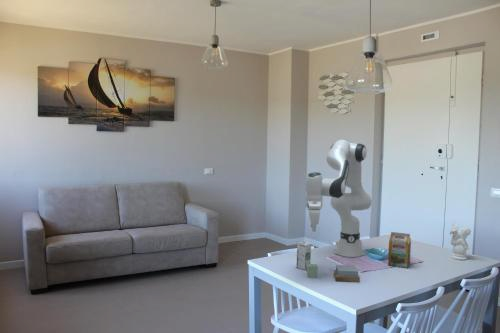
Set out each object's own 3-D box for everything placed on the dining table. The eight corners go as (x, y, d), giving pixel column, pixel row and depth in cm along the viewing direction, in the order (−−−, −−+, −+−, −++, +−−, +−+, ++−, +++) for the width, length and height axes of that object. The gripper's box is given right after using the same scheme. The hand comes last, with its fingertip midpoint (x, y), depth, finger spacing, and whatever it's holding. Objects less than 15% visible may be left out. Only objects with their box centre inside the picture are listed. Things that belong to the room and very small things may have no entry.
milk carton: (388, 265, 257) (389, 233, 256) (391, 261, 266) (392, 230, 265) (407, 268, 252) (408, 235, 251) (410, 263, 261) (411, 232, 260)
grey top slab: (335, 270, 239) (336, 265, 239) (354, 271, 239) (354, 265, 239) (338, 276, 230) (338, 270, 229) (358, 277, 229) (358, 271, 229)
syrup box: (301, 265, 255) (302, 241, 254) (310, 267, 251) (311, 242, 250) (296, 268, 251) (296, 242, 250) (305, 270, 247) (305, 244, 246)
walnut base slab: (333, 275, 241) (333, 269, 241) (356, 276, 240) (356, 270, 240) (336, 282, 229) (336, 277, 229) (359, 283, 228) (359, 277, 228)
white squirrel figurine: (471, 260, 271) (474, 224, 269) (456, 262, 266) (458, 226, 264) (455, 254, 282) (458, 220, 280) (440, 256, 278) (442, 222, 276)
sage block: (307, 274, 239) (307, 263, 239) (316, 275, 239) (316, 264, 239) (307, 277, 234) (307, 266, 234) (317, 278, 234) (317, 267, 234)
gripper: (307, 200, 244) (306, 225, 245) (308, 206, 224) (308, 233, 225) (318, 200, 244) (318, 225, 245) (321, 206, 223) (320, 233, 224)
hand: (313, 229), depth 235 cm, fingers open, 8 cm apart
